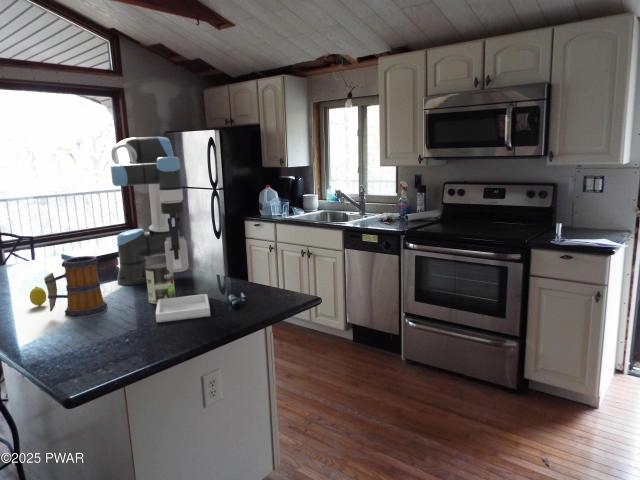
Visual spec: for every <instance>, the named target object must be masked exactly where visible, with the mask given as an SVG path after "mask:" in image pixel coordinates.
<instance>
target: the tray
mask: <svg viewBox="0 0 640 480" xmlns="http://www.w3.org/2000/svg"><path fill="white" fill-rule="evenodd" d="M205 317H211V307H210V302H209V296H208V294H207V293H204V294H196V295H195V294H194V295H185V296H177V297H176V296H175V297H174V298H166V299H158V302H157V304H156V309H155V320H156V323H157V324H159V323H166V322H172V321H174V322H175V321H181V320H182V321H183V320H189V319H198V318H205Z"/></svg>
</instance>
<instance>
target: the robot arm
mask: <svg viewBox="0 0 640 480" xmlns="http://www.w3.org/2000/svg"><path fill="white" fill-rule="evenodd" d="M111 159H112V161H113V163H114V164H112V165H111V166H110V171H111V172H110V173H111V180H112V184H113V186H115V187H127V186H128V187H129V186H140V185H141V186H143V185H144V186H146V185H148V193H149V203H150V204H149V205H150V217H151V225H149V227H148V231H145V230H144V229H143V228H135V229H130V230H126V231H123V232H121V233H118V235H117V236H116V240H117V243H116V246H117V249H118V252H117V253H118V261H119V269H118V274H117V278H116V280H117V284H118V285H120V286H121V285H122V286H135V285H140V284H147V278H146V269H145V266H147V265H149V264H148V259H147V258H149V257H151V258H152V257H158V256H159V257H160V256H166V253H165V241H166V238H168V237H171V245H172V247H171V249H170V251H172V257H173V267H174V269H177V268H182V265H181V254H180V247H179V237H178V236H180V217H178V214H181V213H184V212H185V207H184V206H185V205H184V202H183V200H184V195H183V193H184V192H183V189H182V188H183V187H182V176H181V175H182V174H181V173H182V172H181V163H180V158H179V157H178V156H175V155H174V151H173V147H172V143H171V141H170V139H169V137H166V136H165V137H164V136H144V137H143V136H142V137H141V136H140V137H134V136H133V137H128V138H125V139H122V140H120V141H119V142H117V143H116V144H115V145H113V148H112V149H111Z"/></svg>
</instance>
